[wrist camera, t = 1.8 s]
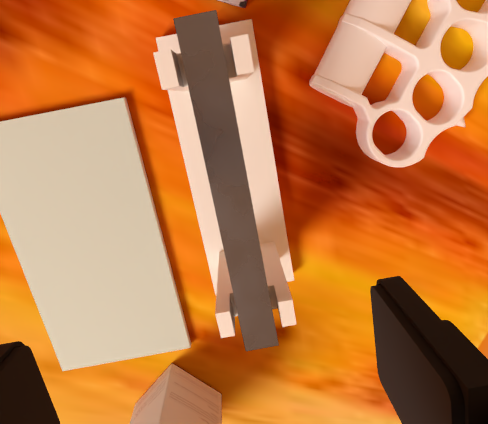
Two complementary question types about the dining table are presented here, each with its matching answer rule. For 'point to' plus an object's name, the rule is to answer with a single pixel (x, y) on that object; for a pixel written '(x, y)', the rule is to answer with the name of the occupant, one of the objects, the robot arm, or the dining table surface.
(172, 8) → the dining table surface
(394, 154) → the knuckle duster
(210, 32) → the rail
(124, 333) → the mat
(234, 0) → the candy bar box
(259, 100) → the hook rack
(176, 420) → the supplement box
